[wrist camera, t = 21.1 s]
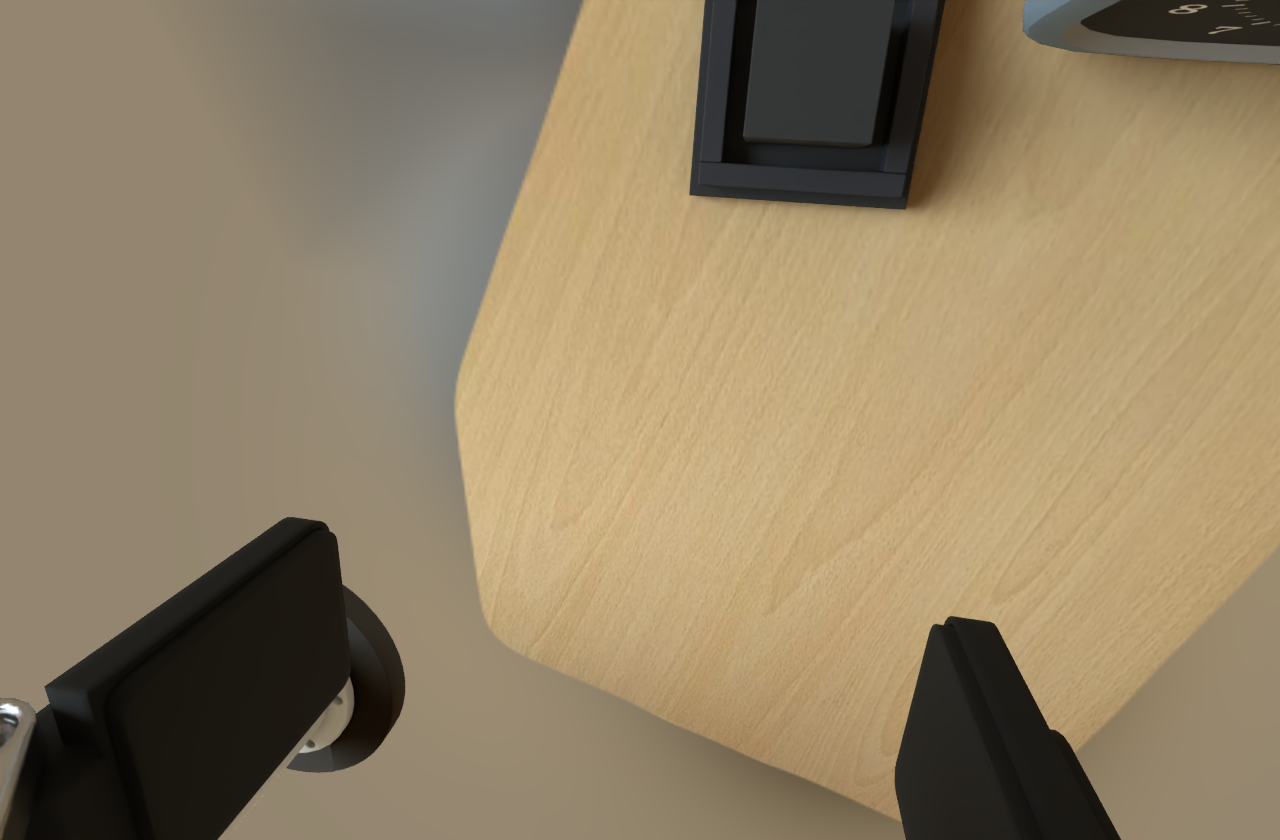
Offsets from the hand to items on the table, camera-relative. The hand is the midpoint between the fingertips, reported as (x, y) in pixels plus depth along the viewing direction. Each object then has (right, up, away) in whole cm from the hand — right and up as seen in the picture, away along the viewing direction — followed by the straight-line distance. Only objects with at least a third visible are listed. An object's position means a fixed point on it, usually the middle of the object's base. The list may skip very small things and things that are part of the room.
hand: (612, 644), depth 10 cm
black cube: (+8, +18, +19) cm, 28 cm away
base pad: (+8, +19, +20) cm, 29 cm away
